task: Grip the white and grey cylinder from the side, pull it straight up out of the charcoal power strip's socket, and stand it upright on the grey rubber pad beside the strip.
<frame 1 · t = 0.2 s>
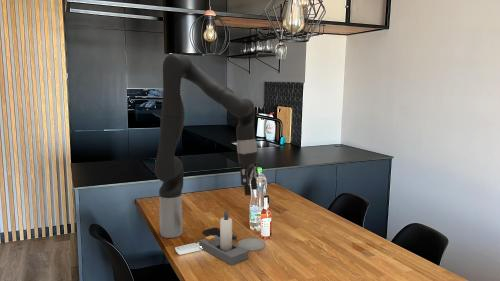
hand: (251, 192, 154), 22 cm above the table, tool pointing down, fingers open, 8 cm apart
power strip: (222, 252, 151), on the table
phone: (219, 237, 167), on the table
pad: (251, 245, 158), on the table
white and grey cylinder: (226, 254, 150), resting in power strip
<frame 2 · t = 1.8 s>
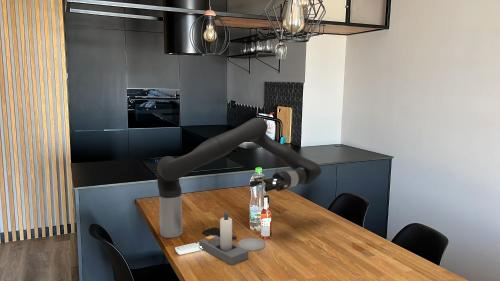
hand: (257, 186, 156), 24 cm above the table, tool horizontal, fingers open, 8 cm apart
nothing on the table moved.
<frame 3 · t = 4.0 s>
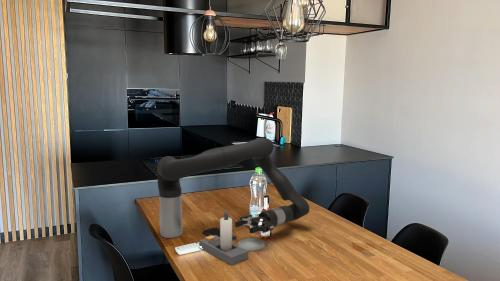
hand: (242, 227, 154), 8 cm above the table, tool horizontal, fingers open, 8 cm apart
nothing on the table moved.
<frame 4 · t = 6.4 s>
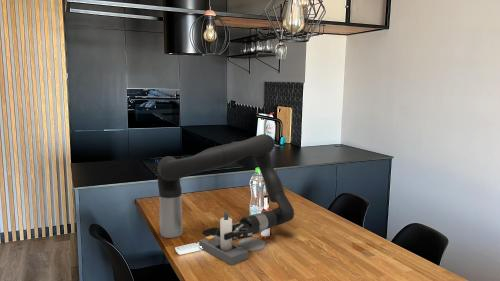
hand: (220, 235, 147), 9 cm above the table, tool horizontal, fingers closed on white and grey cylinder, 4 cm apart
white and grey cylinder: (226, 254, 150), resting in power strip, touching gripper
everything else where it was.
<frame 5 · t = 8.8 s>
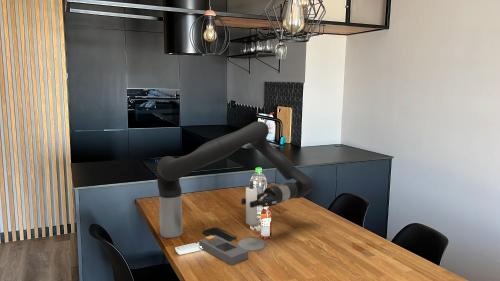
hand: (246, 203, 153), 18 cm above the table, tool horizontal, fingers closed on white and grey cylinder, 4 cm apart
white and grey cylinder: (251, 222, 157), point 9 cm above the table, touching gripper
everything else where it was.
when the fingers open (10 cm above the table, at t = 11.0 s): white and grey cylinder drops 1 cm, resting on pad.
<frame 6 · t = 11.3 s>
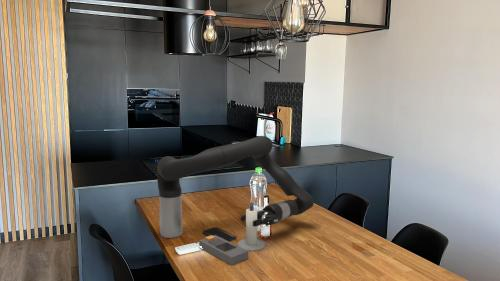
hand: (247, 221, 155), 10 cm above the table, tool horizontal, fingers open, 6 cm apart
white and grey cylinder: (251, 243, 158), point 1 cm above the table, touching pad
everything else where it was.
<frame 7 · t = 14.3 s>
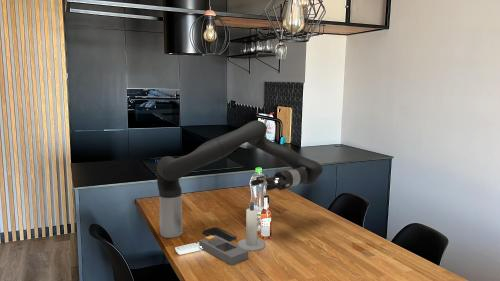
hand: (259, 185, 157), 24 cm above the table, tool horizontal, fingers open, 8 cm apart
nothing on the table moved.
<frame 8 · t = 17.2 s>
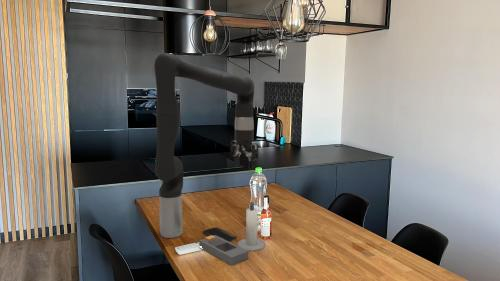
hand: (244, 167, 160), 30 cm above the table, tool pointing down, fingers open, 8 cm apart
nothing on the table moved.
at the end: white and grey cylinder inside the target area on the pad (0.1 cm from its centre), point 0.6 cm above the pad's base; white and grey cylinder tilted 0°; the gripper is holding nothing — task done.
